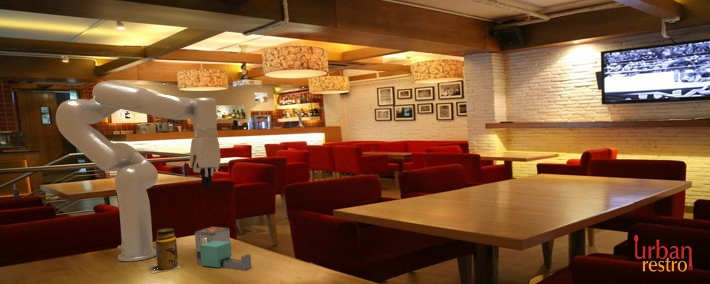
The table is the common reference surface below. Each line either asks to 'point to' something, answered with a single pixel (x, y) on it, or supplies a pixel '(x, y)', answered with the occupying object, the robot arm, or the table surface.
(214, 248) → the carriage
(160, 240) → the condiment
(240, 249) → the table surface
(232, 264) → the rail
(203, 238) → the frame
